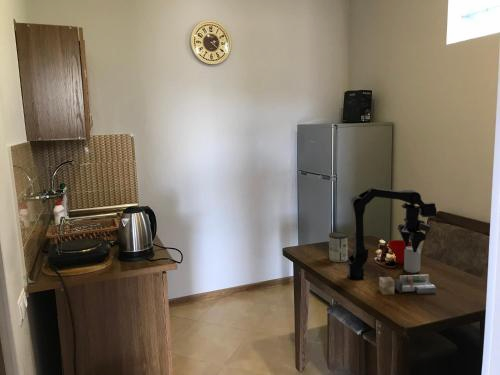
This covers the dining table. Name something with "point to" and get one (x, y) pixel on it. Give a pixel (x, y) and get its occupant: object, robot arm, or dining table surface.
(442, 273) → the dining table surface
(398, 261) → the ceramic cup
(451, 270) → the dining table surface
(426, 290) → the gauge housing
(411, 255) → the can
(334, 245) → the coffee can
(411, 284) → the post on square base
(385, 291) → the block
